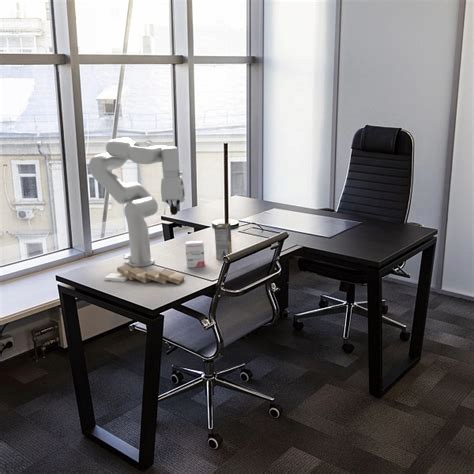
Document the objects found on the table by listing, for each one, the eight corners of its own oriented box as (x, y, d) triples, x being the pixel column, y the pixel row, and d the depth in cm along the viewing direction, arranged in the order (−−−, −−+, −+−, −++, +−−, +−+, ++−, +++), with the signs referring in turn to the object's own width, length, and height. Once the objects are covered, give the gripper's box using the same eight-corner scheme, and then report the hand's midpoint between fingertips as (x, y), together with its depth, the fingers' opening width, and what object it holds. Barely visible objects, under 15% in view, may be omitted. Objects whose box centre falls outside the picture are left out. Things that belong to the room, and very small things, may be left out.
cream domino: (124, 283, 266) (104, 281, 269) (130, 278, 272) (111, 277, 275) (123, 279, 266) (104, 277, 269) (130, 274, 271) (111, 273, 274)
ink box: (204, 263, 287) (203, 239, 284) (204, 266, 282) (203, 242, 279) (186, 264, 286) (185, 241, 283) (186, 267, 281) (185, 244, 278)
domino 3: (164, 284, 261) (144, 277, 263) (169, 279, 266) (149, 272, 268) (165, 280, 260) (145, 273, 262) (170, 275, 266) (150, 268, 268)
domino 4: (179, 284, 259) (158, 276, 261) (183, 279, 265) (163, 272, 267) (180, 280, 259) (159, 272, 260) (184, 275, 264) (164, 268, 266)
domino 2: (145, 283, 262) (127, 274, 266) (153, 279, 268) (135, 270, 271) (145, 279, 262) (128, 270, 265) (153, 275, 267) (136, 266, 270)
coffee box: (219, 253, 301) (218, 223, 296) (232, 254, 299) (230, 223, 295) (216, 259, 292) (214, 228, 287) (228, 259, 291) (227, 228, 286)
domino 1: (131, 280, 266) (116, 271, 272) (141, 277, 271) (126, 268, 276) (131, 276, 266) (117, 267, 271) (141, 273, 270) (127, 264, 276)
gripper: (189, 173, 268) (192, 212, 272) (158, 173, 271) (161, 212, 276) (184, 175, 261) (187, 216, 265) (152, 175, 264) (155, 215, 269)
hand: (174, 214), depth 271 cm, fingers closed
